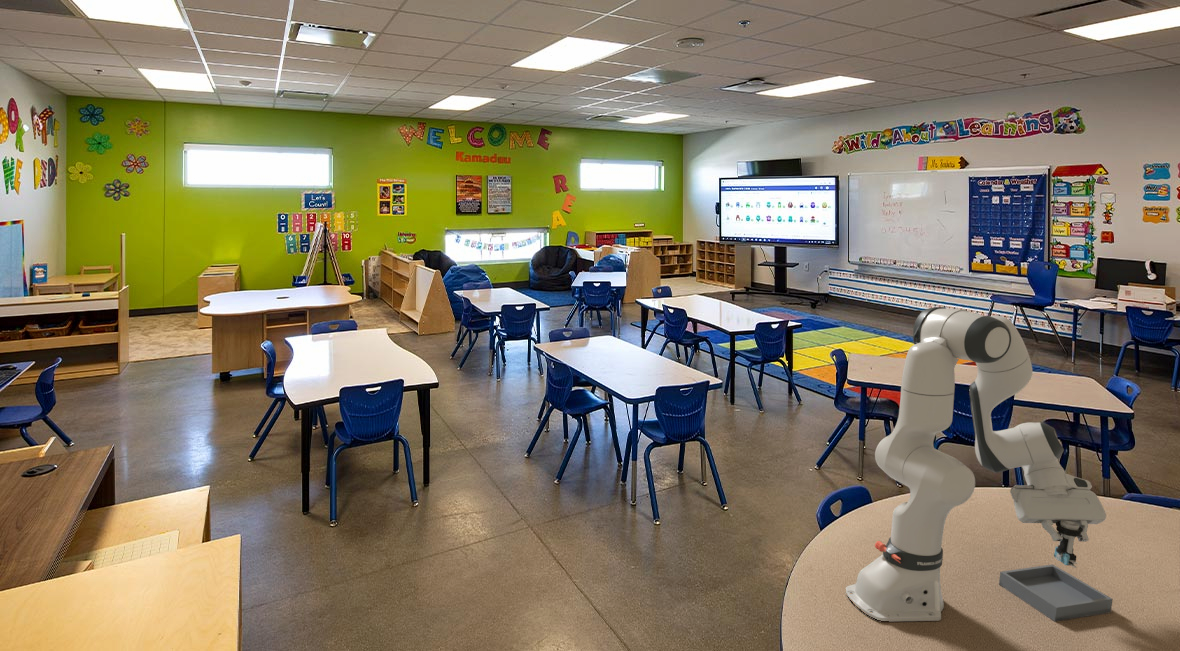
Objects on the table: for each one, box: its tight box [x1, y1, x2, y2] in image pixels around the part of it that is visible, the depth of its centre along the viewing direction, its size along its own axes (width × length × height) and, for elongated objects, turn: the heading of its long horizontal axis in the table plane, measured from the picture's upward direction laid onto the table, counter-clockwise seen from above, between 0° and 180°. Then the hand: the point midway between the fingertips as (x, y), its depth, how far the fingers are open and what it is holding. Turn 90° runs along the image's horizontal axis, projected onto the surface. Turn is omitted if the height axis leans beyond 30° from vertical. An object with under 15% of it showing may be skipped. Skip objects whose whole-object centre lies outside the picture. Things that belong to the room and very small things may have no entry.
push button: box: [1053, 520, 1083, 569], centre depth 162 cm, size 7×5×10 cm
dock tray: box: [998, 564, 1114, 622], centre depth 164 cm, size 16×16×4 cm
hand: (1071, 540), depth 161 cm, fingers closed on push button, 5 cm apart
